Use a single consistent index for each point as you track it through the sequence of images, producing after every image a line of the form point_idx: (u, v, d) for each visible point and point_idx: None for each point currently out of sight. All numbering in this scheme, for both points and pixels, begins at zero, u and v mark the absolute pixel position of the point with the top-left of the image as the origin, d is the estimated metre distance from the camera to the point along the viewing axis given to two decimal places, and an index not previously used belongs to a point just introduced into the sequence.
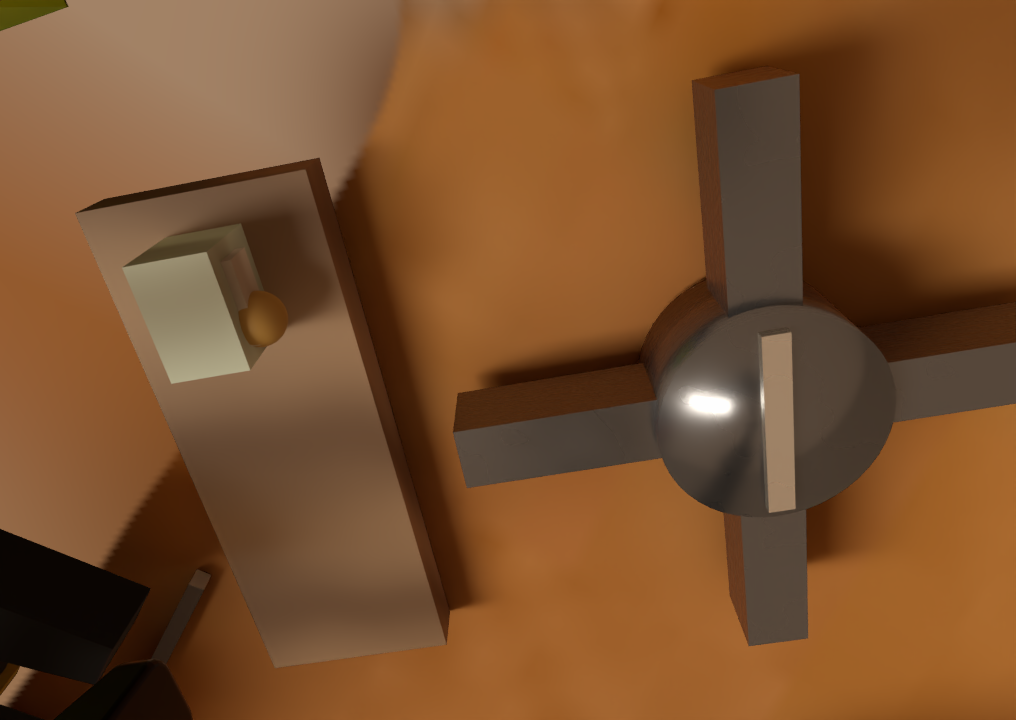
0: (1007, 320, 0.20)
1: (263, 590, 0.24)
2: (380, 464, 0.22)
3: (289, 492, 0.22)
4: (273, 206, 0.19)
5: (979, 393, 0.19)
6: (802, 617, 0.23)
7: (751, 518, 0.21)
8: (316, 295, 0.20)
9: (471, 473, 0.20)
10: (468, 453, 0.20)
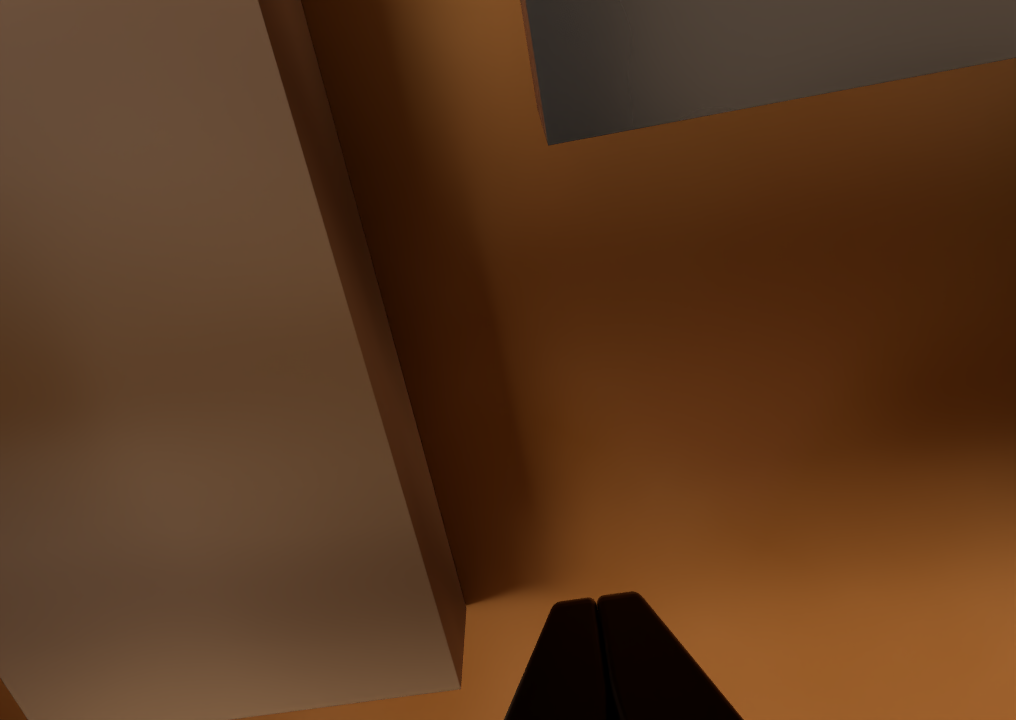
0: None
1: None
2: (260, 142, 0.07)
3: None
4: None
5: None
6: None
7: None
8: None
9: (568, 77, 0.05)
10: None
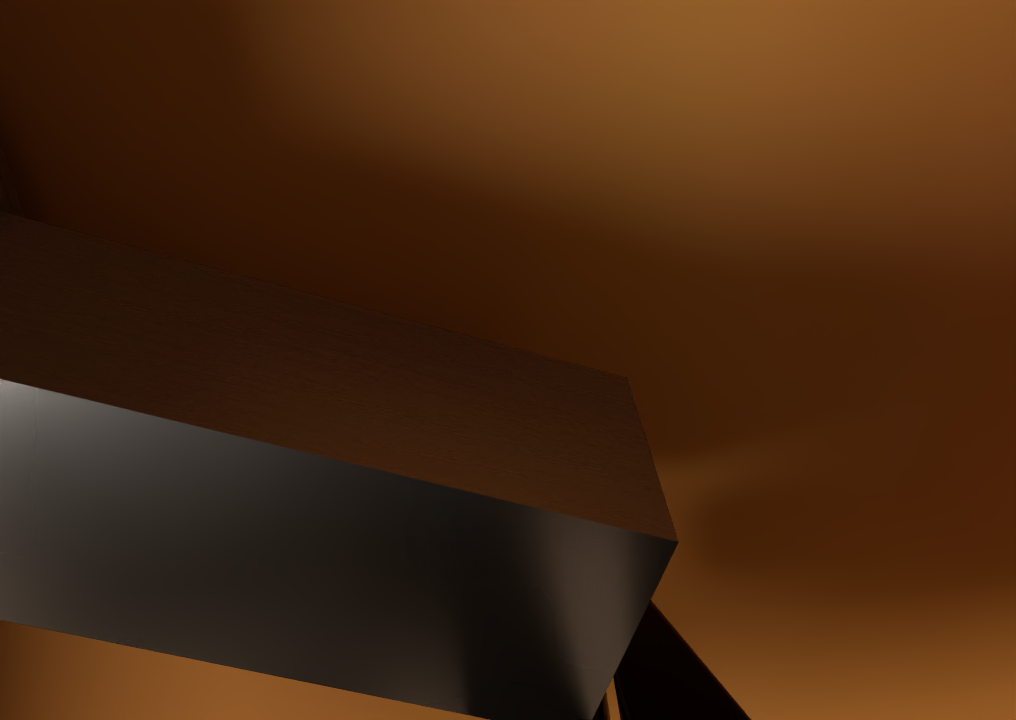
0: None
1: None
2: None
3: None
4: None
5: None
6: (530, 528, 0.04)
7: None
8: None
9: None
10: None
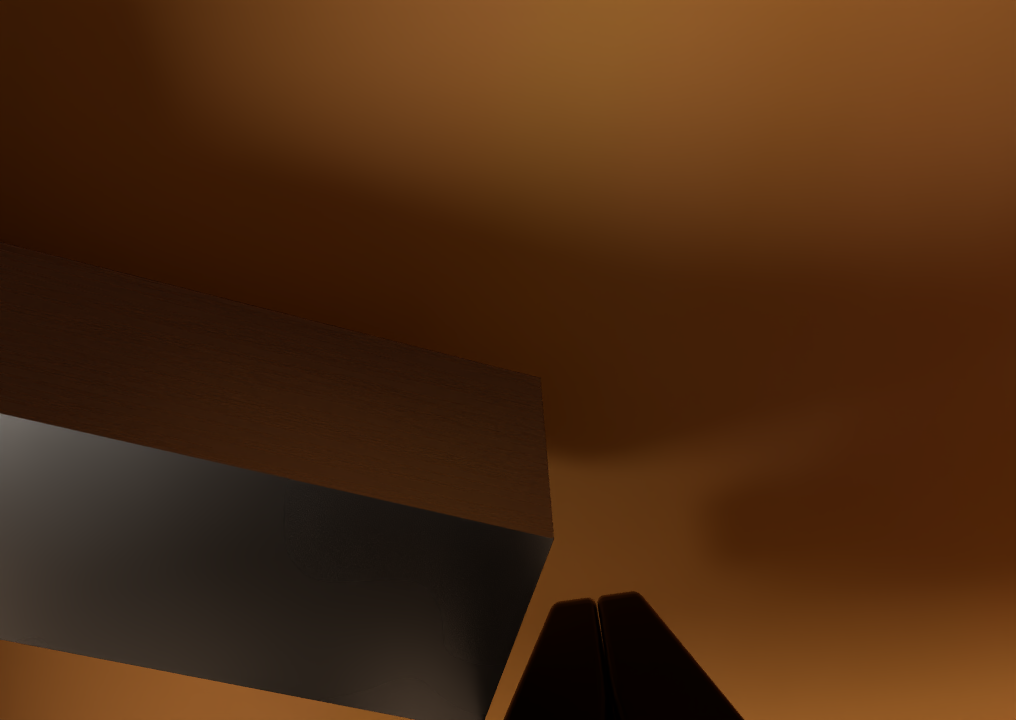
0: None
1: None
2: None
3: None
4: None
5: None
6: (408, 527, 0.05)
7: None
8: None
9: None
10: None
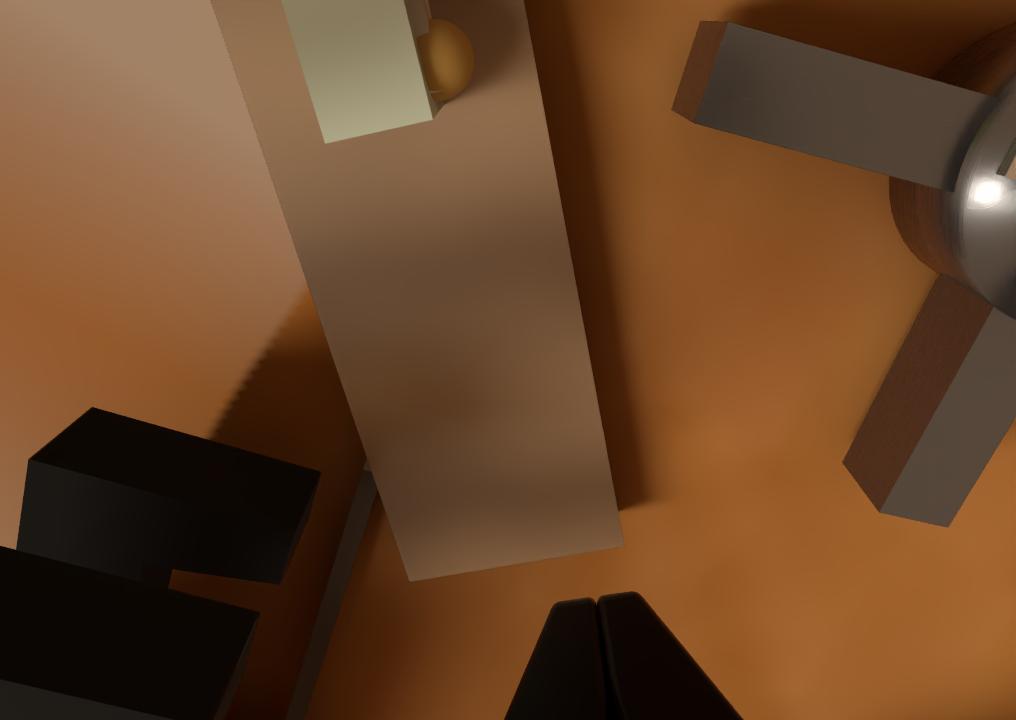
0: None
1: (401, 477, 0.19)
2: (562, 297, 0.17)
3: (443, 339, 0.18)
4: None
5: None
6: None
7: None
8: (497, 50, 0.15)
9: (935, 516, 0.18)
10: (911, 509, 0.18)
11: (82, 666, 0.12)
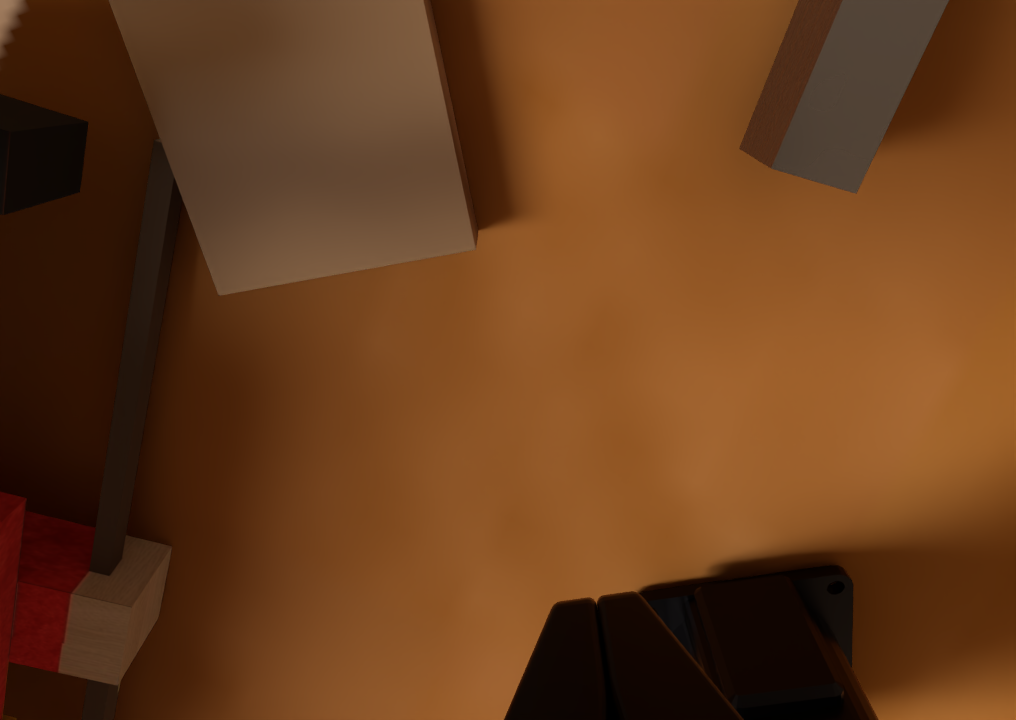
0: None
1: (195, 140, 0.16)
2: None
3: None
4: None
5: None
6: None
7: None
8: None
9: (840, 176, 0.14)
10: (811, 165, 0.14)
11: None
